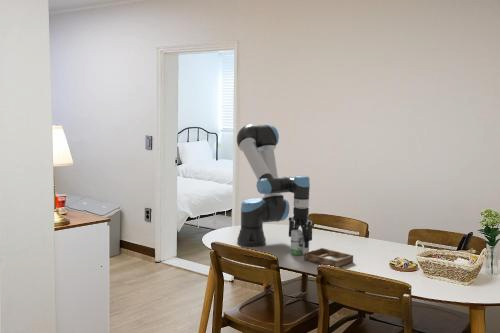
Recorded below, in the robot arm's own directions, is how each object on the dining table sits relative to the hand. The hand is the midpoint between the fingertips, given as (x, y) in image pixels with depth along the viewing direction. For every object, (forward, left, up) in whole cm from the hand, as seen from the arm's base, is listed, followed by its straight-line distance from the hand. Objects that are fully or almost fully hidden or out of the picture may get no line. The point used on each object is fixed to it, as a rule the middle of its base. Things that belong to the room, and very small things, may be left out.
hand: (299, 252), depth 263 cm
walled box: (+18, -1, 0) cm, 18 cm away
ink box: (0, 0, -1) cm, 1 cm away
